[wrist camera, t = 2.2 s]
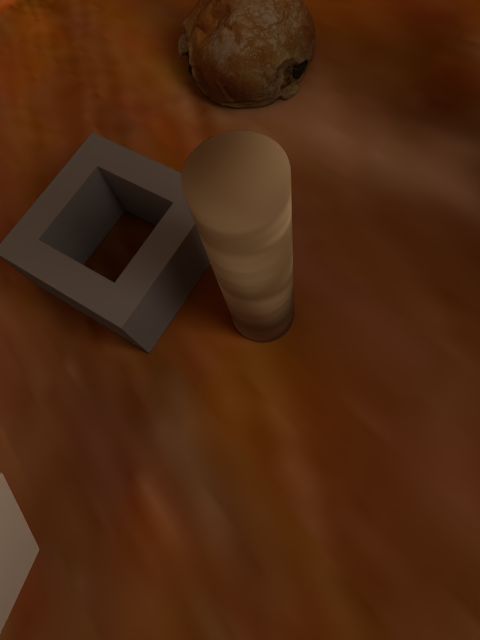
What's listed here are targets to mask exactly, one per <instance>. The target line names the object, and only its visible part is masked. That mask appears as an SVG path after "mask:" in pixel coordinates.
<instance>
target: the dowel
mask: <svg viewBox="0 0 480 640" xmlns="http://www.w3.org/2000/svg"><path fill="white" fill-rule="evenodd" d="M181 186H182V191H183V194H184V197H185V199H186V202H187V204H188V207H189V209H190V212H191V215H192V217H193V220H194V222H195V225H196V227H197V230H198V233H199V235H200V238H201V240H202V243H203V245H204V248H205V251H206V253H207V256H208V258H209V261H210V263H211V266H212V269H213V271H214V274H215V276H216V279H217V281H218V284H219V287H220V289H221V292H222V294H223V297H224V299H225V302H226V305H227V307H228V310H229V312H230V315H231V317H232V320H233V323H234V325H235V327H236V329H237V330H238V332H239V333H240V334H241V335H242V336H244V337H245V338H247V339H249V340H251V341H254V342H262V343H263V342H270V341H274V340H276V339H278V338H280V337H281V336H283V335H284V334H285V333H286V332H287V331H288V329H289V328H290V326H291V324H292V322H293V318H294V289H293V246H292V202H291V168H290V162H289V159H288V157H287V154H286V153H285V151H284V150H283V148H282V147H281V146H280V145H279V144H278V143H277V142H276V141H274V140H273V139H271V138H270V137H268V136H266V135H264V134H261V133H258V132H254V131H247V130H235V131H228V132H224V133H221V134H218V135H215V136H213V137H211V138H209V139H207V140H206V141H204V142H203V143H201V144H200V145H199V146H198V147H197V148H196V149H194V151H193V152H192V153H191V154H190V156H189V157H188V159H187V160H186V162H185V164H184V167H183V170H182V175H181Z"/></svg>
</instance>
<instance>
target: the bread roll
mask: <svg viewBox="0 0 480 640" xmlns="http://www.w3.org/2000/svg"><path fill="white" fill-rule="evenodd" d="M183 26H184V28H185V32H184V34H183V35H182V36H180V39H179V41H178V53H179V55H180V58H182V56H185V55H186V54H187V56H188V57H189V62H190V65H189V73H190V74H191V75H192V76H193V77H194V79H195V83H196V85H197V86H198V88H199V89H200V90H201V91H202V92H203V94H204V95H206V96H207V97H209V98H211V99H212V100H213V101H215V102H217V103H219V104H220V105H223V106H224V105H227V106H230V107H235V108H243V107H261V106H265V105H268V104H271V103H273V102H275V101H276V100H278V99H285V100H287V99H289V98H290V97H292V96H293V95H295V94H296V92H297V91H298V89H299V88H300V86H299V85H297V84H298V83H299V82H300V81H301V79H302V77H303V76H304V74H305V72H306V70H307V68H308V65H309V63H310V62H311V61H312V56H313V52H314V46H315V40H316V39H315V29H314V24H313V21H312V18H311V15H310V13H309V11H308V9H307V8H306V6H305V5H304V4H303V3H302V1H301V0H199V1H198V2H197V3H196V6H195V8H194V9H193V10H192V11H191V12H190V14H189V15H188V17H187V18H186V19H185V20H184V21H183Z"/></svg>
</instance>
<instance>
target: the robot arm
mask: <svg viewBox="0 0 480 640" xmlns="http://www.w3.org/2000/svg"><path fill="white" fill-rule="evenodd" d="M39 550H40V549H39V547H38V545H37V543H36V541H35V539H34V537H33V535H32V533H31V531H30V529H29V527H28V525H27V523H26V521H25V519H24V516H23V514H22V512H21V510H20V508H19V506H18V504H17V502H16V500H15V498H14V496H13V494H12V492H11V490H10V488H9V486H8V484H7V482H6V480H5V478H4V476H3V474H2V473H0V633H1V631H2V629H3V627H4V625H5V622H6V620H7V618H8V616H9V614H10V612H11V610H12V607H13V605H14V603H15V601H16V599H17V597H18V595H19V592H20V590H21V588H22V586H23V584H24V582H25V580H26V577H27V575H28V573H29V571H30V569H31V567H32V565H33V562H34V560H35V558H36V556H37V554H38V552H39Z"/></svg>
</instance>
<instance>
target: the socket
mask: <svg viewBox="0 0 480 640" xmlns="http://www.w3.org/2000/svg"><path fill="white" fill-rule="evenodd" d="M181 175H182V173H181V172H178V171H176V170H174V169H172V168H170V167H167V166H165V165H163V164H161V163H159V162H156V161H154V160H152V159H150V158H148V157H145V156H143V155H141V154H139V153H137V152H135V151H132V150H130V149H128V148H126V147H124V146H121V145H119V144H117V143H115V142H113V141H110V140H108V139H106V138H104V137H102V136H99V135H97V134H95V133H93V132H92V133H91V135H90V136H89V137H88V138H87V140H86V141H85V142H84V143H83V144H82V146H81V147H80V148H79V149H78V150H77V152H76V153H75V154H74V155H73V156H72V158H71V159H70V160H69V161H68V162H67V164H66V165H65V166H64V167H63V169H62V170H61V171H60V172H59V173H58V175H57V176H56V177H55V178H54V179H53V181H52V182H51V183H50V184H49V185H48V187H47V188H46V189H45V190H44V191H43V193H42V194H41V195H40V196H39V197H38V199H37V200H36V201H35V202H34V204H33V205H32V206H31V207H30V208H29V210H28V211H27V212H26V213H25V214H24V216H23V217H22V218H21V219H20V220H19V222H18V223H17V224H16V225H15V226H14V228H13V229H12V230H11V231H10V232H9V234H8V235H7V236H6V237H5V239H4V240H3V241H2V242H1V243H0V257H1V258H2V259H4V260H5V261H6V262H7V263H9V264H10V265H11V266H13V267H14V268H15V269H16V270H18V271H19V272H20V273H22V274H23V275H24V276H25V277H27V278H28V279H29V280H31V281H32V282H33V283H34V284H36V285H37V286H39V287H40V288H42V289H44V290H45V291H47V292H48V293H50V294H52V295H53V296H55V297H57V298H58V299H60V300H62V301H63V302H65V303H67V304H68V305H70V306H72V307H73V308H75V309H77V310H78V311H80V312H81V313H83V314H85V315H86V316H88V317H90V318H91V319H93V320H95V321H96V322H98V323H100V324H101V325H103V326H105V327H106V328H108V329H110V330H111V331H113V332H114V333H116V334H118V335H119V336H121V337H123V338H124V339H126V340H128V341H129V342H131V343H133V344H134V345H136V346H138V347H139V348H141V349H143V350H144V351H146V352H147V353H150V352H151V350H152V349H153V347H154V346H155V344H156V343H157V341H158V340H159V338H160V337H161V335H162V334H163V332H164V331H165V330H166V328H167V327H168V325H169V324H170V322H171V321H172V319H173V318H174V316H175V315H176V313H177V312H178V310H179V309H180V307H181V306H182V305H183V303H184V302H185V300H186V299H187V297H188V296H189V294H190V293H191V291H192V290H193V288H194V287H195V285H196V284H197V282H198V281H199V280H200V278H201V277H202V275H203V274H204V272H205V271H206V269H207V268H208V266H209V265H210V261H209V258H208V256H207V253H206V251H205V248H204V245H203V243H202V240H201V238H200V235H199V233H198V230H197V227H196V225H195V222H194V220H193V217H192V215H191V212H190V209H189V207H188V204H187V202H186V199H185V197H184V194H183V191H182V186H181ZM125 211H127V212H129V213H131V214H133V215H135V216H137V217H139V218H141V219H143V220H145V221H147V222H149V223H151V224H153V225H155V226H156V227H155V228H154V230H153V231H152V232H151V234H150V235H149V237H148V238H147V239H146V241H145V242H144V243H143V245H142V246H141V247H140V249H139V250H138V252H137V253H136V254H135V256H134V257H133V258H132V260H131V261H130V262H129V264H128V265H127V267H126V268H125V269H124V271H123V272H122V273H121V275H120V276H119V277H118V279H117V280H116V282H115V283H114V282H112V281H110V280H109V279H107V278H105V277H103V276H102V275H100V274H98V273H96V272H95V271H93V270H91V269H89V268H87V267H86V266H84V264H85V263H86V261H87V260H88V259H89V258H90V256H91V255H92V254H93V252H94V251H95V250H96V248H97V247H98V246H99V244H100V243H101V242H102V240H103V239H104V238H105V237H106V235H107V234H108V233H109V231H110V230H111V229H112V227H113V226H114V225H115V223H116V222H117V221H118V219H119V218H120V217H121V216H122V214H123V213H124V212H125Z"/></svg>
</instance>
